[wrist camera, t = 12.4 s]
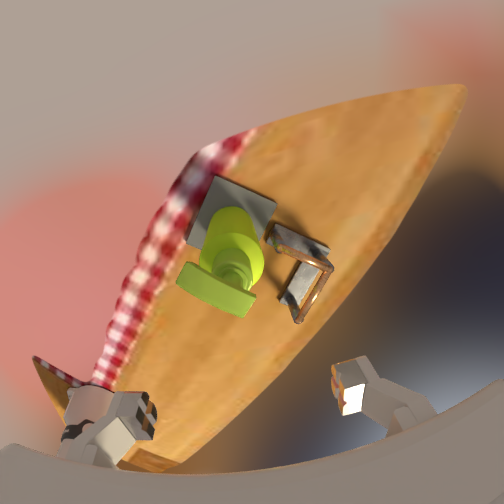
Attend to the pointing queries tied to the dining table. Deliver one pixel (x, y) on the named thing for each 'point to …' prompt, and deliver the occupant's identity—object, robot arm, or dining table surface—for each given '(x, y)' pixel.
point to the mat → (230, 195)
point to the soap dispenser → (226, 263)
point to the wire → (301, 268)
